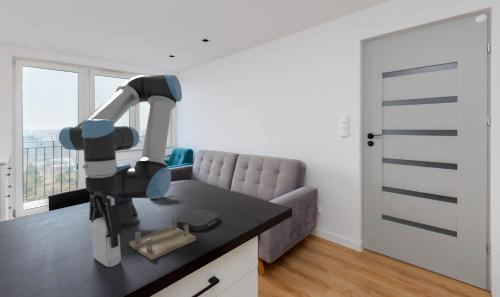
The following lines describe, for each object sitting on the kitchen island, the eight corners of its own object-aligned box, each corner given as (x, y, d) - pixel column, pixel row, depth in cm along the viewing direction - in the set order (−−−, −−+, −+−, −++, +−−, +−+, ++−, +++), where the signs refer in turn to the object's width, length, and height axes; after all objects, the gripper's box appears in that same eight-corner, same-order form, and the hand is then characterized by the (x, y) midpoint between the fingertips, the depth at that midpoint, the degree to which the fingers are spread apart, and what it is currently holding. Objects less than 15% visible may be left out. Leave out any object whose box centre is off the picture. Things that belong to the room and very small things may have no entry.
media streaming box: (195, 213, 107) (195, 207, 107) (223, 219, 100) (222, 212, 100) (170, 226, 94) (170, 218, 94) (200, 233, 87) (200, 225, 87)
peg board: (129, 245, 79) (128, 231, 78) (172, 228, 91) (172, 216, 90) (150, 260, 70) (150, 244, 69) (196, 240, 82) (195, 226, 81)
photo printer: (91, 257, 71) (88, 217, 70) (106, 251, 75) (104, 212, 73) (107, 269, 65) (104, 225, 64) (123, 262, 69) (120, 220, 67)
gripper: (73, 172, 72) (78, 243, 74) (101, 183, 57) (107, 272, 60) (101, 168, 78) (105, 234, 80) (133, 178, 63) (137, 259, 65)
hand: (106, 250), depth 70 cm, fingers closed on photo printer, 10 cm apart
